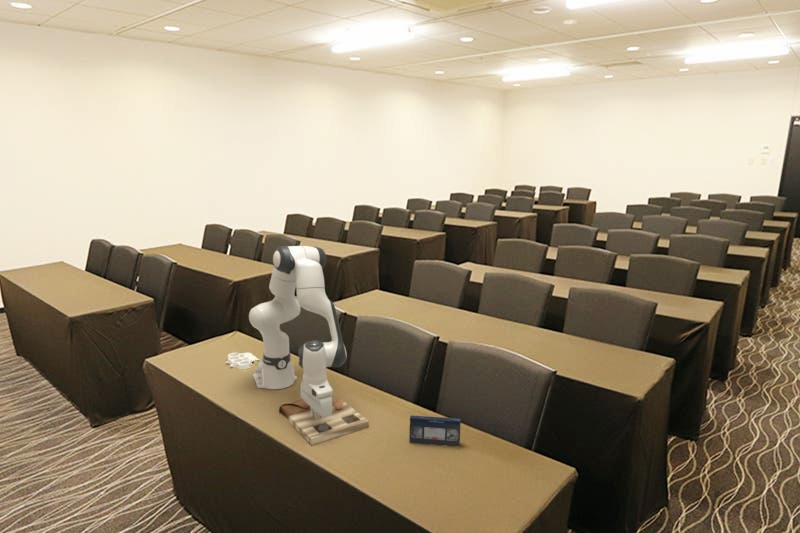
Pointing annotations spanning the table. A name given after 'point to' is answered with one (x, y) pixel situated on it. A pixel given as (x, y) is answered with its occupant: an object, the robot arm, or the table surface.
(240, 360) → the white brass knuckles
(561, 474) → the table surface
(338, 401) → the terracotta ball
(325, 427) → the charcoal ball
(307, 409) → the sunglasses case
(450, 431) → the vhs cassette tape
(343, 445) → the table surface
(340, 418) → the hole board
